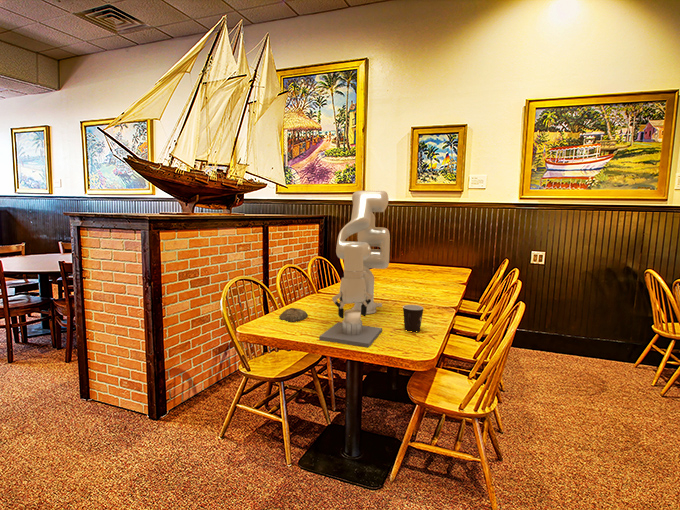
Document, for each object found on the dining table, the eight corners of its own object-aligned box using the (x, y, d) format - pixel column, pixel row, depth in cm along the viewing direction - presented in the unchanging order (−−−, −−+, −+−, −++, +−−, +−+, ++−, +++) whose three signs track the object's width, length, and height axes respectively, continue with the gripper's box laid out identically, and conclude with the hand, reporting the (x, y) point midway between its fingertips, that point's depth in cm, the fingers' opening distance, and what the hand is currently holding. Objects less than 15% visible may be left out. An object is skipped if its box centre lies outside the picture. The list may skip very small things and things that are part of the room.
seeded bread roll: (311, 317, 175) (311, 307, 175) (294, 324, 165) (294, 313, 164) (290, 313, 182) (290, 303, 182) (273, 319, 172) (273, 308, 171)
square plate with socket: (338, 325, 163) (338, 312, 162) (382, 331, 156) (382, 317, 155) (319, 340, 145) (319, 325, 144) (368, 347, 137) (369, 331, 137)
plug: (356, 328, 154) (356, 308, 153) (362, 333, 148) (363, 313, 147) (341, 330, 152) (341, 310, 151) (347, 335, 146) (348, 314, 145)
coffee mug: (411, 325, 165) (412, 303, 163) (426, 330, 158) (427, 308, 157) (393, 330, 157) (393, 307, 156) (408, 336, 151) (409, 312, 150)
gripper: (368, 272, 154) (367, 312, 156) (329, 274, 148) (329, 315, 150) (377, 275, 147) (375, 317, 149) (336, 277, 141) (335, 321, 143)
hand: (352, 316), depth 149 cm, fingers open, 9 cm apart
